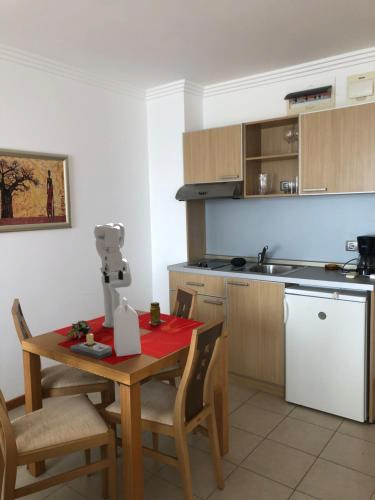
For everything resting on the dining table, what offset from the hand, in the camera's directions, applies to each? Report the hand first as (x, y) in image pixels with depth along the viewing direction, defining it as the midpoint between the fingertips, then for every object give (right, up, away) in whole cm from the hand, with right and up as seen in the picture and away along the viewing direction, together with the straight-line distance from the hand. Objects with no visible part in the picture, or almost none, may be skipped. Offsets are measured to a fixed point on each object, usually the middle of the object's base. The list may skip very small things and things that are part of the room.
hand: (114, 281), depth 224 cm
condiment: (+21, -27, +26) cm, 43 cm away
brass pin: (-8, -33, -22) cm, 40 cm away
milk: (+10, -33, -21) cm, 40 cm away
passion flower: (-18, -31, +1) cm, 36 cm away
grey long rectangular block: (-8, -33, -22) cm, 40 cm away
